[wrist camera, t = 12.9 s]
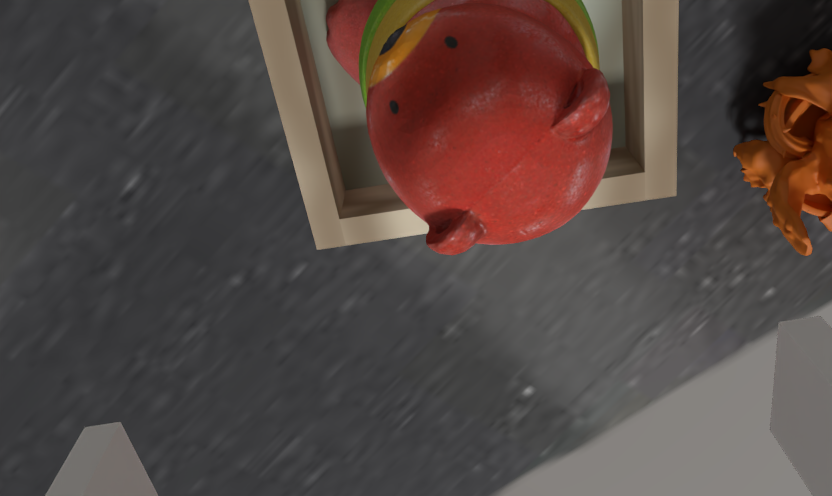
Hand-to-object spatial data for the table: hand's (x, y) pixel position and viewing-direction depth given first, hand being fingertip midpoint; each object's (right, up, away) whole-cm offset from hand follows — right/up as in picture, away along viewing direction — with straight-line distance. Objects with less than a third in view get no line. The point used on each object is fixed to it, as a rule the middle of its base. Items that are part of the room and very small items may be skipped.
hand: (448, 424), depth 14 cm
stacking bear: (+2, +14, +20) cm, 24 cm away
